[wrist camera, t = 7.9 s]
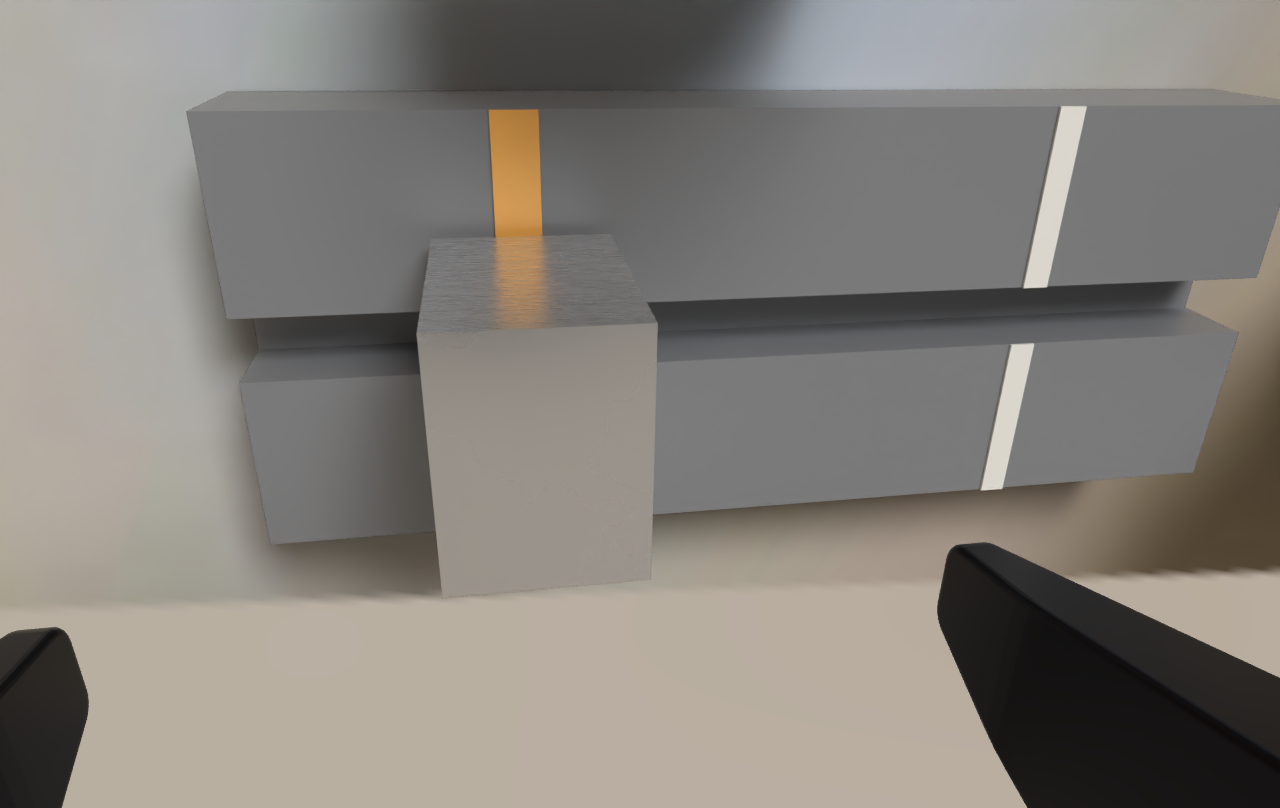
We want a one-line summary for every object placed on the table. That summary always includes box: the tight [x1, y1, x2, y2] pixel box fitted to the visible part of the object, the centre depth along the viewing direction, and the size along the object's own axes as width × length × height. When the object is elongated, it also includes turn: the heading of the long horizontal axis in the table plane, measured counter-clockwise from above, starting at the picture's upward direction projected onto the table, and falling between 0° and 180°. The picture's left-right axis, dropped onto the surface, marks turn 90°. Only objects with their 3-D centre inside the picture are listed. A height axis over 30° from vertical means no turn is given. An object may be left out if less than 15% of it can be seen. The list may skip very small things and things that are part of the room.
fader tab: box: [417, 234, 658, 598], centre depth 15 cm, size 3×4×6 cm
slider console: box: [186, 89, 1280, 545], centre depth 18 cm, size 20×8×3 cm, turn 89°
